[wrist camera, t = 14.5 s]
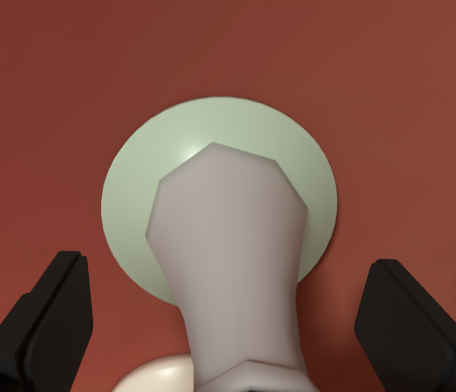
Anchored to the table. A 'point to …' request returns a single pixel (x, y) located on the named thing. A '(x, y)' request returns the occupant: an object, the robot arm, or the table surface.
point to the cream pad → (160, 376)
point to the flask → (234, 268)
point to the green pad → (190, 145)
